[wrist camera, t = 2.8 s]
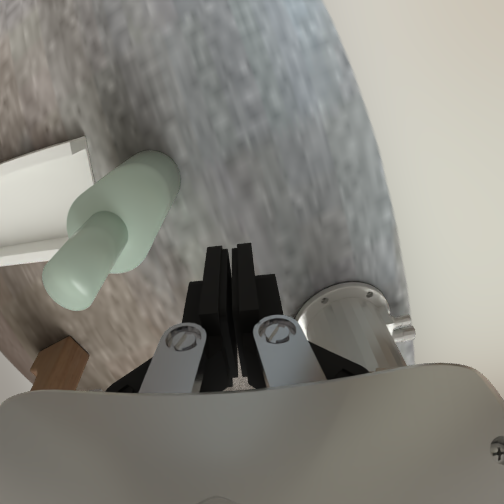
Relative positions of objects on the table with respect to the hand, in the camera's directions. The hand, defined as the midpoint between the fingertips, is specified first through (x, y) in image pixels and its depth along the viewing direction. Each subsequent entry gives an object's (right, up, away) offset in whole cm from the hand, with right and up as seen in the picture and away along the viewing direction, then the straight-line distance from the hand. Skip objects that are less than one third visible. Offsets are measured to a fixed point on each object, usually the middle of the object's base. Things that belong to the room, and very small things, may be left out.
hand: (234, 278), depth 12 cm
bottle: (-9, +8, +17) cm, 21 cm away
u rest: (-25, +6, +17) cm, 31 cm away
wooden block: (-28, -14, +28) cm, 42 cm away
